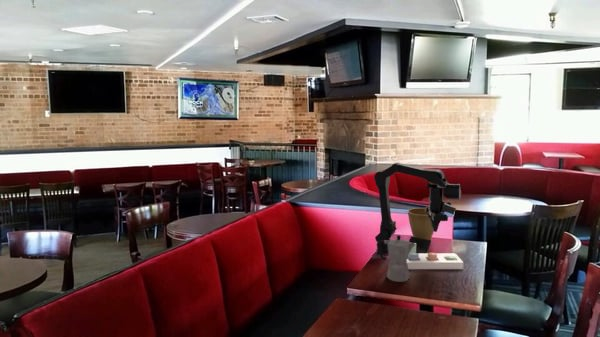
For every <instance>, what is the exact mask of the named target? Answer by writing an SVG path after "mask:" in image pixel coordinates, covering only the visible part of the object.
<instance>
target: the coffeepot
mask: <svg viewBox="0 0 600 337" xmlns="http://www.w3.org/2000/svg"><path fill="white" fill-rule="evenodd" d="M401 237H402V236H401V235H400V234H399V235H396V239H390V240H380V241H379V242H378V243H377V242H376V249H377V248H378V251H379V256H380V259H381V260H383V261H386V260H387V257H385V256H384V254H383V252H382V247H381V245H382V244H383V245H387V246H388V253H389V254H388V258H389V260H390V261H389V263H388V267H387V268H388V269H387V273H386V277H387V279H388V280H389V281H392V282H397V283H401V282H402V283H403V282H407V281H409V280H410V277H411V276H410V271H409V270H410V269H408V264H407V259H408V255H409V252H410V251H411V249H412V248H413V247H414V246H415V244H414V243H411V242H409V241H408V240H405V239H401ZM408 279H409V280H408Z"/></svg>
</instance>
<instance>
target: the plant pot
mask: <svg viewBox="0 0 600 337" xmlns="http://www.w3.org/2000/svg"><path fill="white" fill-rule="evenodd" d="M407 215H408V221H409V227H410V232H411V234H412V237H417V238H422V239H427V240H431V239H432V237H433V235H434V230H433V227H432V225H431V222H430V220H429V218H428V215H429V211H428V212H427V213H426V212H425V207H414V208H410V209H408V210H407ZM431 241H432V240H431Z"/></svg>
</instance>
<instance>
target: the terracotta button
mask: <svg viewBox="0 0 600 337" xmlns="http://www.w3.org/2000/svg"><path fill="white" fill-rule="evenodd" d="M428 260H437V254H436V252H428Z"/></svg>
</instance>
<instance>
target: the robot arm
mask: <svg viewBox="0 0 600 337" xmlns="http://www.w3.org/2000/svg"><path fill="white" fill-rule="evenodd" d="M396 173H400V174H404V175H409V176H413V177H418V178H421V179H424V180H425V181H427V182H428V183H427V184H426V185H425V186H424V188H425V189H426V188H427V189H429V198H428V202H429V205H426V206H425V207H424V208H425V212H426V213H427V212H428V211H429V215H428V218H429V220H430V222H431V225H432V227H433V230H434V232H435V233H436V232H438V229H439V226H440V223H441V222H447V221H449V216H448V215H447V213H449V214H450V215H453V216H454V214H455V213H456V211H457V207H455V206H454V205H452V203H451V201H448V200H461V197H462V190H461V184H460V183H457V184H456V183H449V182H448V180H447V178H446V176H445V173H444V171H443V170H442V169H439V168H438V169H434V168H427V169H426V168H422V167H417V166H412V165H408V164H404V163H401V162H394V163H393V164H392V165H390V166H389V167H387V168H386V169H381V170H380V171H377V172H376V173H375V174H374V176H373V179H374V182H375V186H376V188H377V189H378V197H379V206H380V213H381V214H380V215H381V221H380V227H379V233H378V234H377V235H376V236H375V242H376V244H377V243H378V242H379V241H380V240H391V238H392V236H394V234H395V233H396V230H397V229H398V228H397V225H396V224H397V222H396V220H393V219H392V214H391V206H390V203H391V202H390V194H389V186H390V182H391V176H393V175H394V174H396ZM444 198H445V199H447V201H446V202H445V201H444ZM434 232H433V233H434ZM381 247H382V252H383V255H389V253H388V246H387V245H383V244H382V245H381ZM375 252H376V254H377V253H378V254H379V251H378V248H377V247H376V249H375ZM378 254H377V255H378ZM379 255H380V254H379Z"/></svg>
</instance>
